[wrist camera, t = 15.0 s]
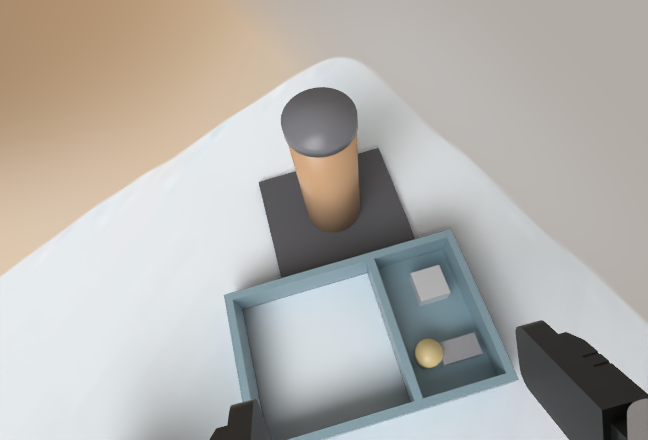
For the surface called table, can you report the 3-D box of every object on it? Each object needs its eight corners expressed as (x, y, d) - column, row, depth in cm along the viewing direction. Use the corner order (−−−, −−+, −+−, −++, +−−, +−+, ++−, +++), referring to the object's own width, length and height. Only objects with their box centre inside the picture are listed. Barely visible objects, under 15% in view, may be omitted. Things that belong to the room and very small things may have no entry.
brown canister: (352, 178, 42) (344, 79, 30) (368, 224, 40) (367, 136, 28) (300, 193, 42) (273, 99, 30) (314, 240, 39) (290, 157, 28)
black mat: (378, 151, 43) (378, 148, 43) (414, 240, 39) (414, 238, 39) (259, 184, 43) (258, 182, 43) (282, 279, 39) (281, 277, 38)
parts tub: (445, 243, 39) (451, 228, 36) (507, 383, 33) (518, 379, 31) (234, 304, 38) (224, 294, 35) (262, 458, 33) (252, 460, 30)
